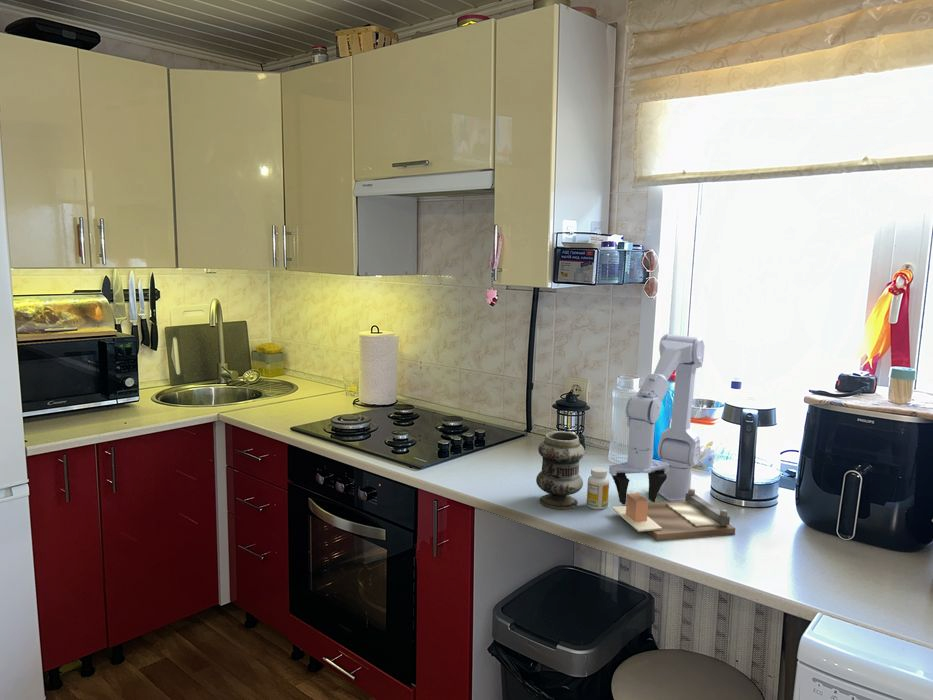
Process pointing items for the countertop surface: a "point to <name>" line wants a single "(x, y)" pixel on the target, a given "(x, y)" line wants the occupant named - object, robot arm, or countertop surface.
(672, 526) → the ticket board
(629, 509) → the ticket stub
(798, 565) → the countertop surface
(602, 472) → the supplement bottle
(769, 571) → the countertop surface
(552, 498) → the apothecary jar
